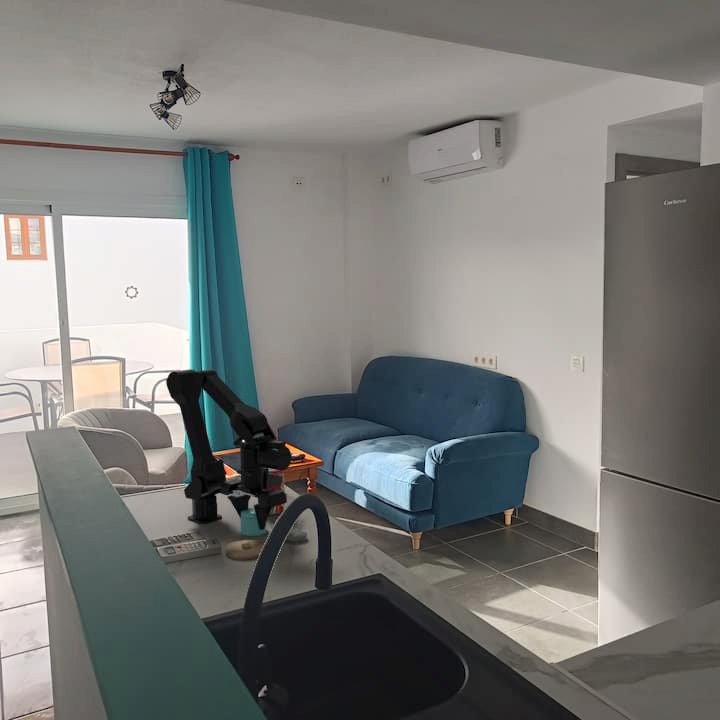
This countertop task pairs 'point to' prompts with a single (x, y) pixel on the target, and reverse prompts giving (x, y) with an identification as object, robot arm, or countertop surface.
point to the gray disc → (296, 537)
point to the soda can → (280, 507)
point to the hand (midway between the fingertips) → (253, 526)
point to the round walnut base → (244, 549)
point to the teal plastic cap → (250, 523)
